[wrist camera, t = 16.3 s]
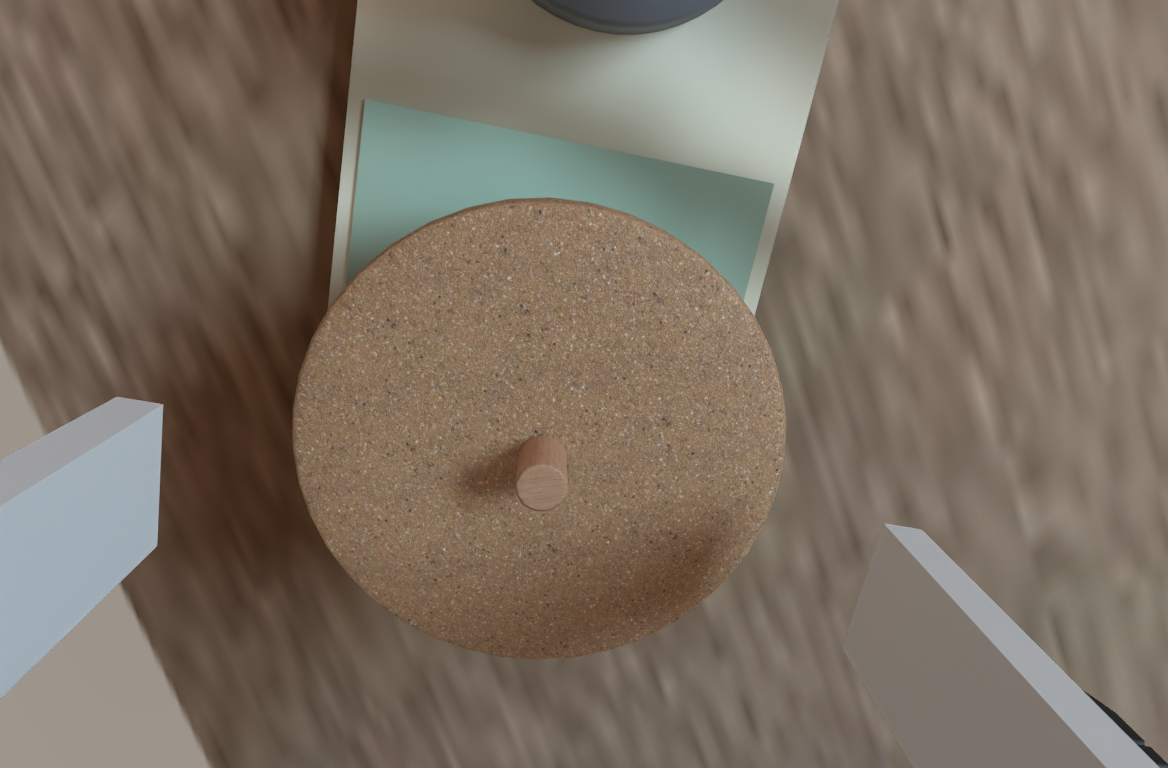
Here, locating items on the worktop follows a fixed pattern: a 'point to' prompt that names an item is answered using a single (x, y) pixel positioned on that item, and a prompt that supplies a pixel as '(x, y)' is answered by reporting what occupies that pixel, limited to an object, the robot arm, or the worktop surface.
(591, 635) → the lidded jar
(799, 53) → the game board
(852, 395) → the worktop surface
